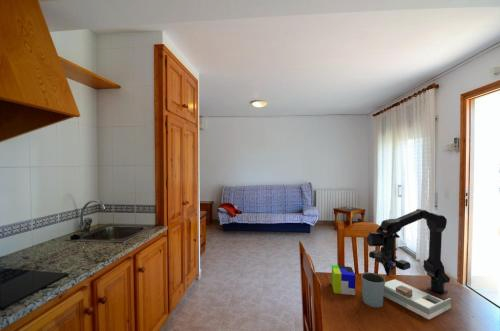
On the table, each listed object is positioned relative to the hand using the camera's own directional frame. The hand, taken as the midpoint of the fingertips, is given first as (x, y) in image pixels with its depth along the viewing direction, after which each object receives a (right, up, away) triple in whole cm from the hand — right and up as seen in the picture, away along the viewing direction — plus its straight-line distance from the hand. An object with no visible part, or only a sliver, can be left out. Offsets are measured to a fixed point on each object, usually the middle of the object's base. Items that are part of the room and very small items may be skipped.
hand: (388, 276), depth 125 cm
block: (+4, -6, -7) cm, 10 cm away
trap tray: (+7, -8, -6) cm, 12 cm away
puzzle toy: (-22, -8, +2) cm, 24 cm away
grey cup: (-13, -8, -10) cm, 18 cm away
